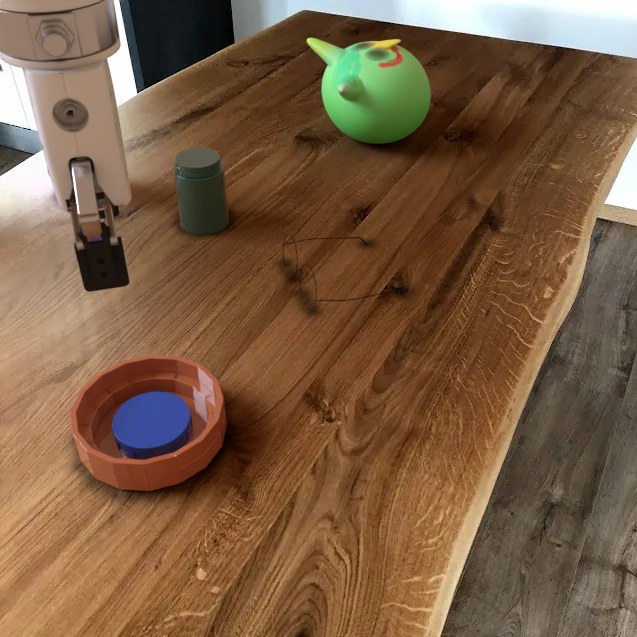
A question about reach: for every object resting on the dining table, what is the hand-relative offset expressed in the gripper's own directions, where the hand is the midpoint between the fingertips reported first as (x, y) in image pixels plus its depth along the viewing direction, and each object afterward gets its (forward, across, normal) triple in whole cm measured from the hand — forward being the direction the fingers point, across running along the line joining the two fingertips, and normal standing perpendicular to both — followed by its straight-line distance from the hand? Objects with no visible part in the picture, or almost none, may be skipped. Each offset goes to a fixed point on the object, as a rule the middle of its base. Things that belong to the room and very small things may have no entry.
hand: (103, 249), depth 57 cm
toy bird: (+19, +50, -40) cm, 67 cm away
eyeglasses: (+18, +15, -25) cm, 34 cm away
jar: (+19, +31, -11) cm, 38 cm away
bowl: (+18, -4, -1) cm, 19 cm away
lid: (+17, -3, -1) cm, 17 cm away
